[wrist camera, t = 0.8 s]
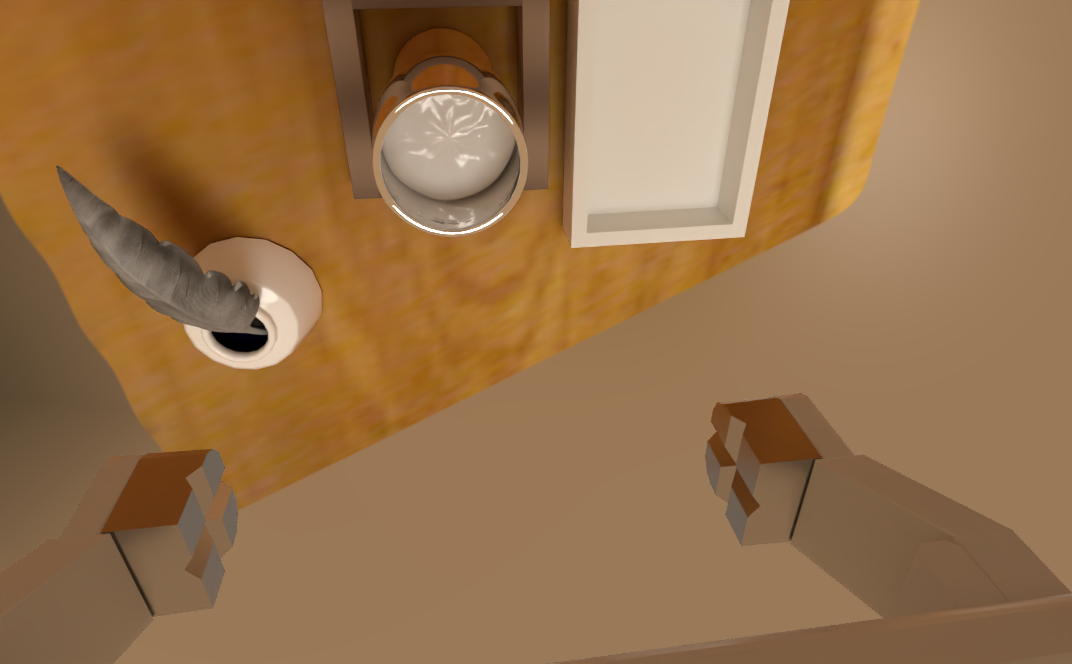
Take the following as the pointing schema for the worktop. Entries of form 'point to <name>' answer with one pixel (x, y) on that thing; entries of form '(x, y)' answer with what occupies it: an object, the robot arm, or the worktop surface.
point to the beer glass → (448, 138)
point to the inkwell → (208, 284)
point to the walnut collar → (355, 94)
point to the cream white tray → (665, 117)
